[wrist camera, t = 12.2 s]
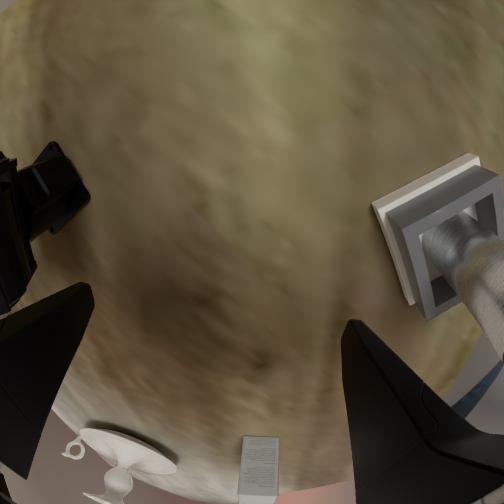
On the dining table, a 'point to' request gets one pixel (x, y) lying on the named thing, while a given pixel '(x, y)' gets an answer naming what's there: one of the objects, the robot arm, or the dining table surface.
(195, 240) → the dining table surface
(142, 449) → the candlestick
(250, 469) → the small box
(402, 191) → the holder
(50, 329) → the robot arm
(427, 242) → the black-capped silver cylinder
